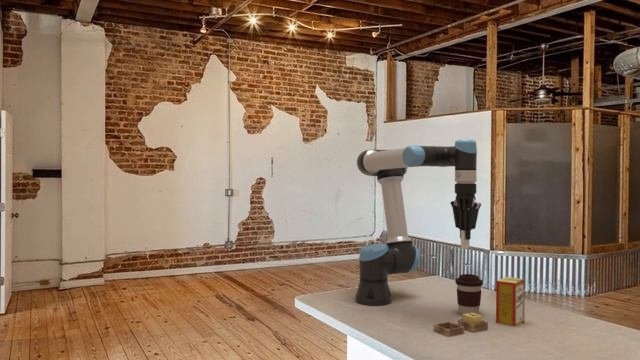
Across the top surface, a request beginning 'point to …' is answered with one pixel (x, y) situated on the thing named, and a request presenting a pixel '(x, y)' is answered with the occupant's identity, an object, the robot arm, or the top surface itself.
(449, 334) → the box
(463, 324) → the box
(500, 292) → the baking soda box
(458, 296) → the coffee cup
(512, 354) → the top surface
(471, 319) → the letter cube
